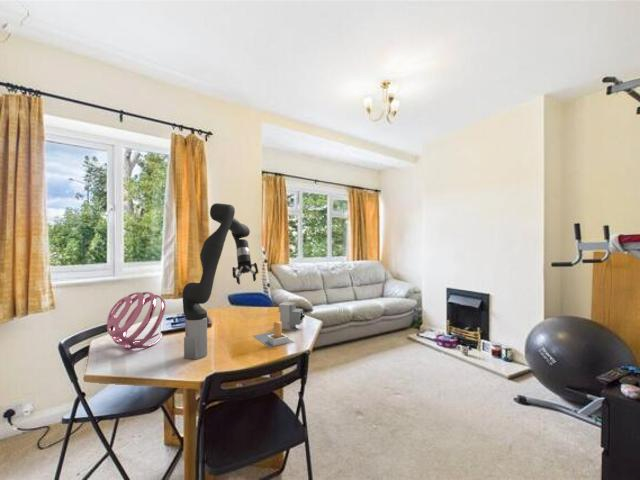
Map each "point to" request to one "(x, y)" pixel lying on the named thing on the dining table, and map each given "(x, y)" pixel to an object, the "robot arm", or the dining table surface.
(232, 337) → the dining table surface
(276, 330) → the wooden peg
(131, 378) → the dining table surface
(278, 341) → the lockout board
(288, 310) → the circuit breaker
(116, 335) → the spiral basket
